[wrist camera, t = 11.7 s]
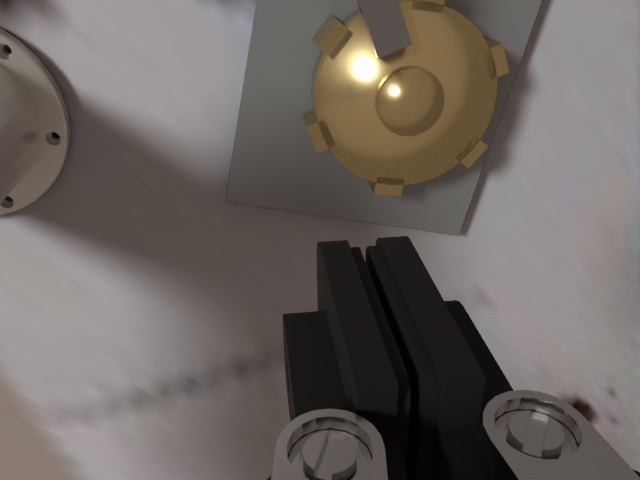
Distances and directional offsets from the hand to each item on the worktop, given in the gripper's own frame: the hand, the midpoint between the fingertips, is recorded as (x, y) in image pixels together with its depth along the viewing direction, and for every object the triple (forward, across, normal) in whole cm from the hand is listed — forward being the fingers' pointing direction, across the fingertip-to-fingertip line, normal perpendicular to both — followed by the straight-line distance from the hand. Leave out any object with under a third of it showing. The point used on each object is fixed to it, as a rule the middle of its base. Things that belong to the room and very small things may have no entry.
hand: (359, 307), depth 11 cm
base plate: (+29, -6, +4) cm, 30 cm away
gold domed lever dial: (+28, -7, 0) cm, 28 cm away
